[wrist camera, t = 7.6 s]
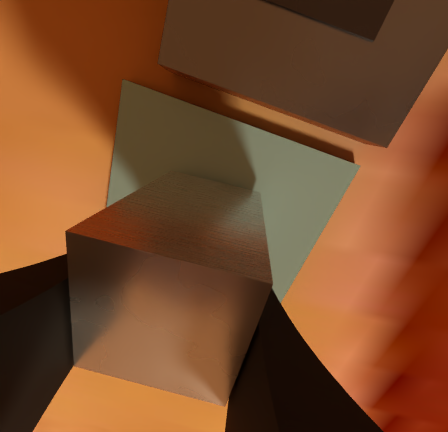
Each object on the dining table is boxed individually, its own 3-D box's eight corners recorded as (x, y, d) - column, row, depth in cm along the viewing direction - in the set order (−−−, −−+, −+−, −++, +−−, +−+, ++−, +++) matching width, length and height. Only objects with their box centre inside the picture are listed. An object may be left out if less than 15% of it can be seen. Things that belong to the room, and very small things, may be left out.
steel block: (260, 192, 11) (273, 284, 5) (237, 266, 13) (225, 406, 7) (171, 170, 11) (65, 230, 5) (161, 247, 13) (74, 366, 7)
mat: (355, 163, 11) (360, 165, 11) (263, 323, 16) (264, 331, 16) (128, 81, 11) (122, 79, 11) (103, 268, 16) (98, 274, 15)
